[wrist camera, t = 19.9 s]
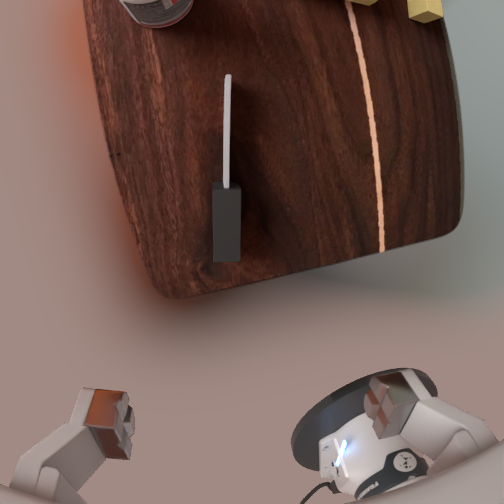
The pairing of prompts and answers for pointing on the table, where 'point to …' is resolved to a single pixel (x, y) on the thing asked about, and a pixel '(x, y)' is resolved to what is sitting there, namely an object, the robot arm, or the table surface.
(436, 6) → the butter slice
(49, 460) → the robot arm
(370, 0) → the butter stick
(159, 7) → the pill bottle
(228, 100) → the knife
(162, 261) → the table surface
